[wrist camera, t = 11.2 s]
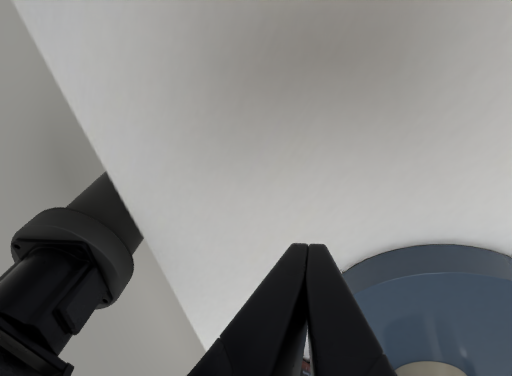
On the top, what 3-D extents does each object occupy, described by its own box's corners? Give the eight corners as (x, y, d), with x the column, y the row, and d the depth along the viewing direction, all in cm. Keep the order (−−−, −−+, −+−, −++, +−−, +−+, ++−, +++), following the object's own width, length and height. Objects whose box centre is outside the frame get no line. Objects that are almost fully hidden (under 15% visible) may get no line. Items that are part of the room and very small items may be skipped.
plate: (314, 376, 33) (314, 404, 30) (318, 236, 24) (317, 262, 22) (517, 403, 29) (532, 436, 27) (609, 253, 20) (641, 285, 18)
